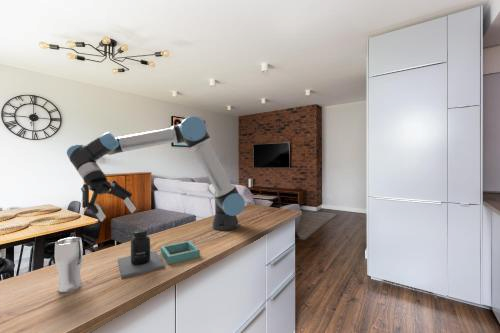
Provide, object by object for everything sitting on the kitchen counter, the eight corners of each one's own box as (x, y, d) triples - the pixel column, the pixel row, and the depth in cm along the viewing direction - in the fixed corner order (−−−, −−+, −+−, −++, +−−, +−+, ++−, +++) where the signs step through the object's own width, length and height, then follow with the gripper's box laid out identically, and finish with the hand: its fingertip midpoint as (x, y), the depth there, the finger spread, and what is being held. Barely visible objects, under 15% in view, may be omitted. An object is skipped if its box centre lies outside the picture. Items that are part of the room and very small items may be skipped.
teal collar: (189, 247, 107) (189, 240, 107) (199, 256, 97) (199, 249, 97) (160, 253, 100) (160, 246, 100) (168, 264, 90) (168, 256, 90)
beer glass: (53, 296, 70) (51, 246, 69) (59, 284, 76) (57, 238, 76) (82, 289, 73) (80, 242, 73) (85, 279, 79) (83, 235, 79)
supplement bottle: (138, 267, 86) (137, 234, 85) (127, 263, 89) (126, 231, 89) (154, 260, 92) (153, 229, 91) (143, 256, 95) (142, 226, 94)
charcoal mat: (155, 253, 101) (155, 250, 101) (164, 267, 87) (164, 265, 87) (117, 261, 93) (117, 258, 93) (121, 278, 80) (121, 275, 80)
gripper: (115, 178, 112) (140, 213, 107) (55, 185, 89) (83, 229, 84) (123, 167, 109) (148, 202, 105) (63, 171, 86) (92, 216, 82)
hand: (119, 214), depth 94 cm, fingers open, 13 cm apart
